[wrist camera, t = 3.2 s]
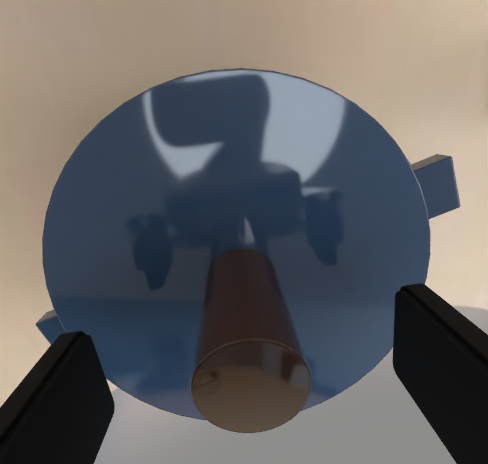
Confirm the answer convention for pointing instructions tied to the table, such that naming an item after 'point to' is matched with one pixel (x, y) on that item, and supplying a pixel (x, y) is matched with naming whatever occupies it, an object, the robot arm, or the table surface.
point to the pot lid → (235, 245)
